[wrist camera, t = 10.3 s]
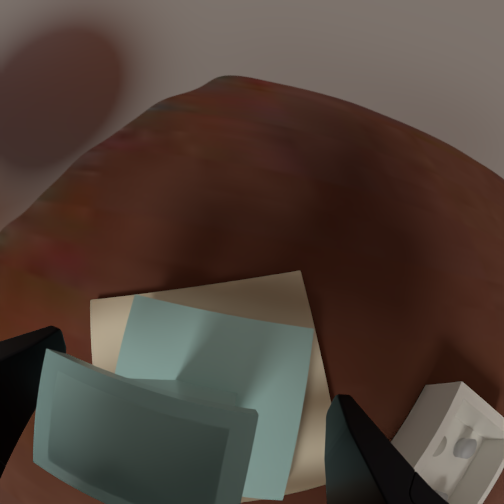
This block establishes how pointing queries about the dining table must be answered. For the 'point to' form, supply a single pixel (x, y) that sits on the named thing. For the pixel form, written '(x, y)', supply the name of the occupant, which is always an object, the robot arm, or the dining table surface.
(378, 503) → the robot arm
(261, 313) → the board
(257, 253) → the dining table surface
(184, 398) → the lid
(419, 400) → the tub
